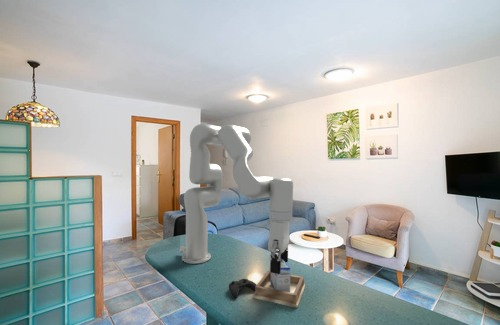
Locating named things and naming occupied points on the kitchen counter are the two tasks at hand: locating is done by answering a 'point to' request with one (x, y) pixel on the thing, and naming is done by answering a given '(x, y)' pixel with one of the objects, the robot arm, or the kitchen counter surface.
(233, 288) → the gaming controller
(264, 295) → the wooden tray
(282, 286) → the medicine box
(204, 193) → the robot arm
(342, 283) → the kitchen counter surface
